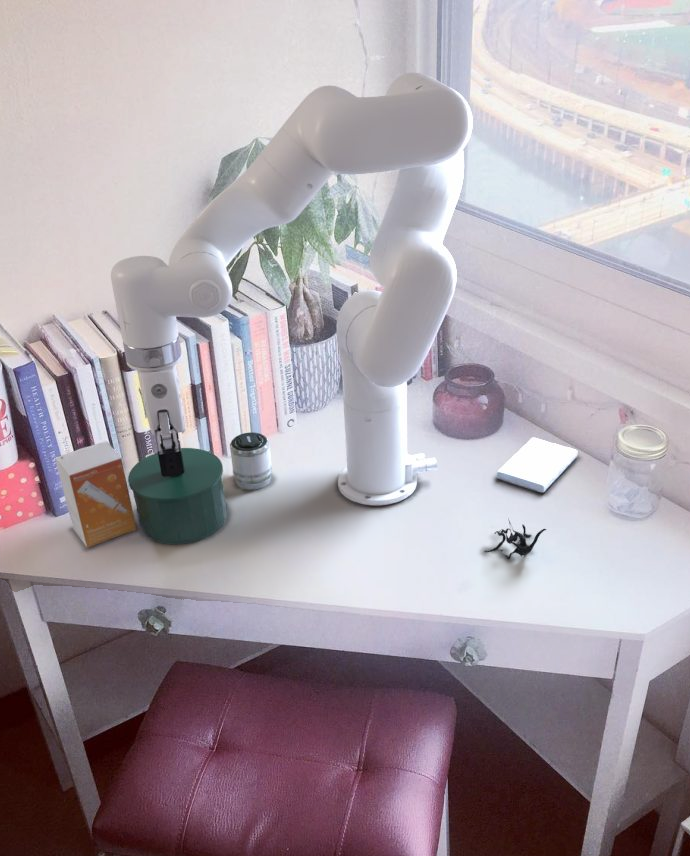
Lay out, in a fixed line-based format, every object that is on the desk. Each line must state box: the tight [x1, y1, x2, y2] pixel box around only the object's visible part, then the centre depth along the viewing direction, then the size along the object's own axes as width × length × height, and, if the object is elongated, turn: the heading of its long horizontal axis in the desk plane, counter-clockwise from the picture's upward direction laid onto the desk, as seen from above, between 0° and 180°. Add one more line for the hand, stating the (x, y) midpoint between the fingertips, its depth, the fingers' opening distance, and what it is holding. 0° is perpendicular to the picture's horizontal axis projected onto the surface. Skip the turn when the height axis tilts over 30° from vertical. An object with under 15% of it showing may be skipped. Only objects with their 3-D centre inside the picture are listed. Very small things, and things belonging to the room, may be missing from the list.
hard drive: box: [496, 437, 578, 494], centre depth 146 cm, size 2×8×12 cm
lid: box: [127, 438, 224, 501], centre depth 134 cm, size 14×14×6 cm
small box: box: [54, 440, 137, 549], centre depth 134 cm, size 8×6×13 cm
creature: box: [484, 518, 547, 560], centre depth 128 cm, size 8×5×8 cm
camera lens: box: [229, 432, 273, 491], centre depth 145 cm, size 6×6×8 cm
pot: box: [132, 475, 228, 545], centre depth 137 cm, size 13×13×8 cm
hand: (170, 457), depth 133 cm, fingers open, 9 cm apart
